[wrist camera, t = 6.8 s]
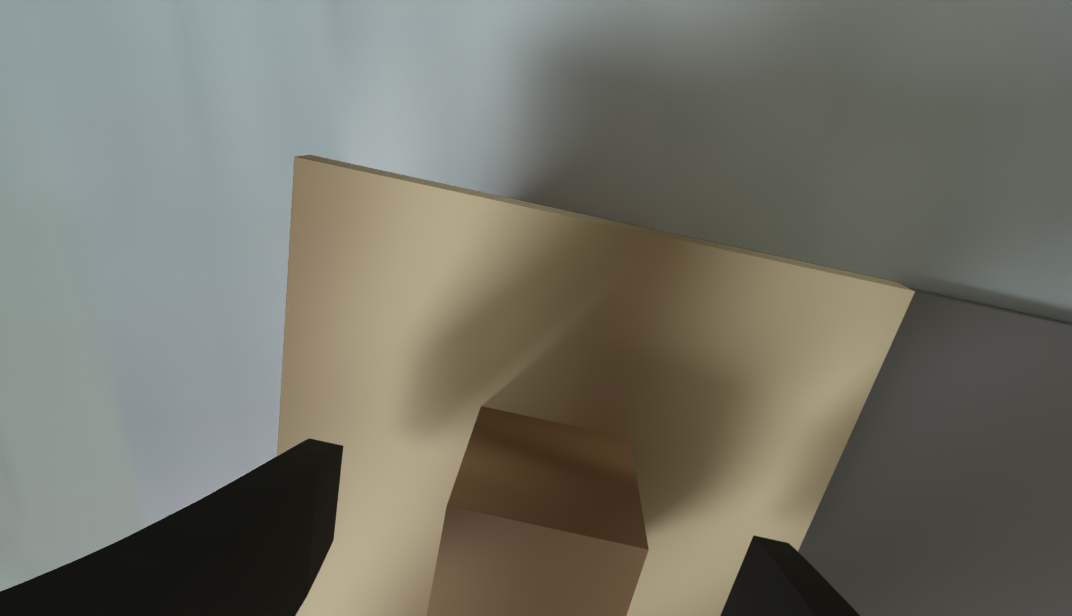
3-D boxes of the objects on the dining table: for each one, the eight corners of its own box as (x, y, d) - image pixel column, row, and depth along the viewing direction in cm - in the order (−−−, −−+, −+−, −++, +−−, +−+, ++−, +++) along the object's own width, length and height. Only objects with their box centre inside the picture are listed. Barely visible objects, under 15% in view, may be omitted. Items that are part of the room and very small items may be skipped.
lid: (280, 604, 14) (181, 763, 10) (310, 155, 10) (175, 170, 7) (713, 700, 14) (758, 890, 10) (896, 281, 10) (1058, 361, 7)
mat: (744, 644, 19) (748, 655, 18) (902, 286, 15) (911, 290, 14) (1118, 726, 19) (1129, 738, 18) (1384, 390, 15) (1405, 398, 14)
